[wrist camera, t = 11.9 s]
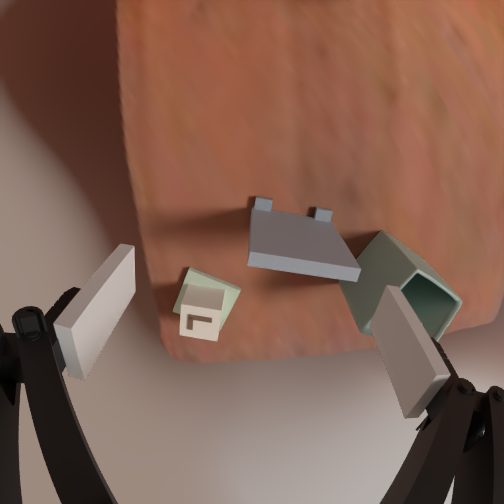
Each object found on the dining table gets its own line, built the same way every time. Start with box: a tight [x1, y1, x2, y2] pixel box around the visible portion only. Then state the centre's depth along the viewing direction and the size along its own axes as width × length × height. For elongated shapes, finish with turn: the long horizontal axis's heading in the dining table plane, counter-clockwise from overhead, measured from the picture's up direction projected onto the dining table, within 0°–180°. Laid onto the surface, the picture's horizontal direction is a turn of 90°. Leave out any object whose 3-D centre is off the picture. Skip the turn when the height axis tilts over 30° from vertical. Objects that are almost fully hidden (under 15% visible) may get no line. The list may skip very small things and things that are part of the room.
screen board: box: [247, 196, 361, 282], centre depth 40 cm, size 12×5×16 cm, turn 81°
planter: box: [338, 231, 462, 342], centre depth 40 cm, size 16×8×20 cm, turn 103°
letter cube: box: [180, 284, 225, 341], centre depth 49 cm, size 6×6×6 cm
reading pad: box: [173, 267, 241, 330], centre depth 52 cm, size 9×9×1 cm
